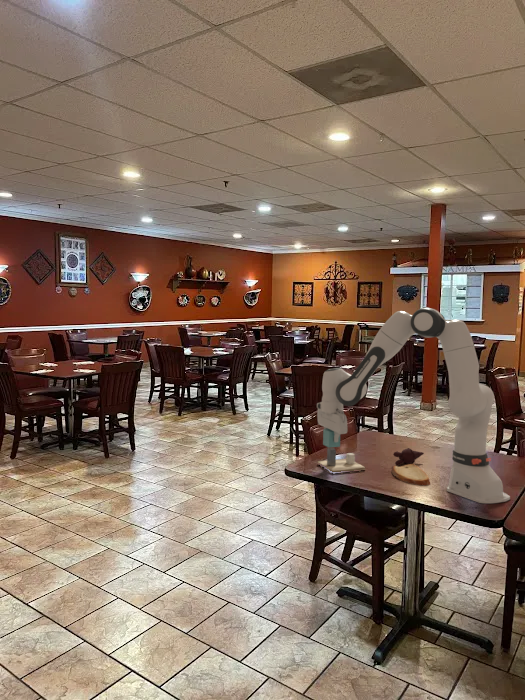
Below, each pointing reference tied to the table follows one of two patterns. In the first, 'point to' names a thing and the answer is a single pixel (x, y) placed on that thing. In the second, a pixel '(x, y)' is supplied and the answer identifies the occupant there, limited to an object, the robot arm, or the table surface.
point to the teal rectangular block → (330, 439)
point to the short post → (350, 458)
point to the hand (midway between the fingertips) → (331, 439)
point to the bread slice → (411, 474)
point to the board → (342, 466)
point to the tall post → (331, 457)
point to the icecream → (407, 456)
